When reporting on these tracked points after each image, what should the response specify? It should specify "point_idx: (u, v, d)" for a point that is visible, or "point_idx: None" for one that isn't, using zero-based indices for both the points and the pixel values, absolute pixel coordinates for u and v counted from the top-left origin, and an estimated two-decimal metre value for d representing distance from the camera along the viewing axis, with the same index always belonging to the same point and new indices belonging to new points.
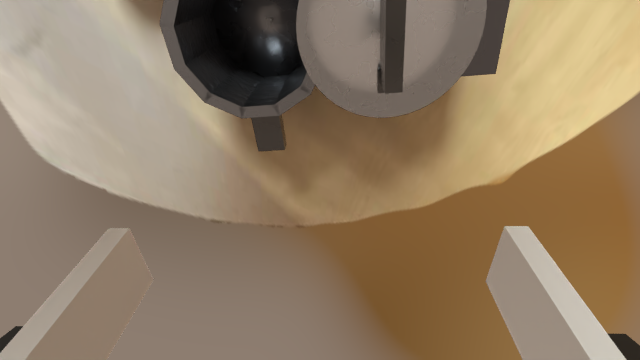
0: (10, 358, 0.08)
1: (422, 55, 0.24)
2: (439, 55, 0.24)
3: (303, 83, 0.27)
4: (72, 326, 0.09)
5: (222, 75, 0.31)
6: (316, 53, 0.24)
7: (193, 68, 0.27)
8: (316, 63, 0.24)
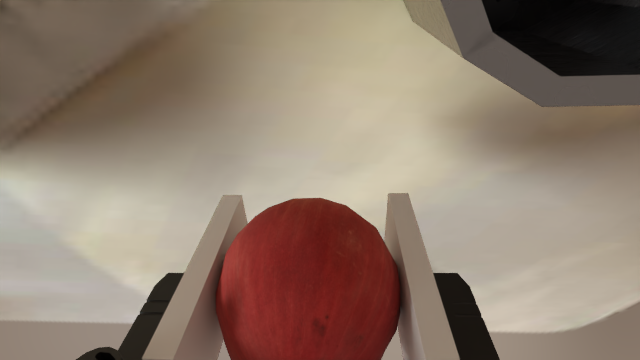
0: (188, 291, 0.09)
1: None
2: None
3: None
4: (219, 272, 0.11)
5: None
6: None
7: None
8: None
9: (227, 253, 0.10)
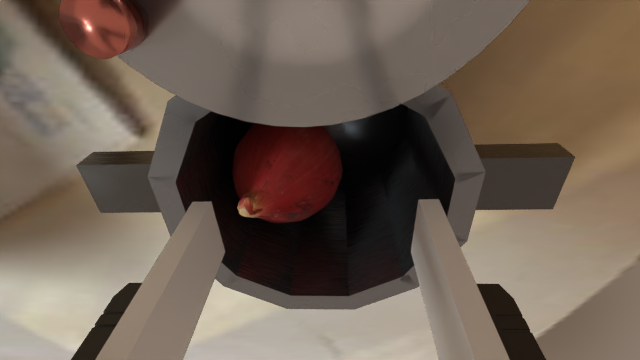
0: (142, 303, 0.09)
1: None
2: None
3: (419, 109, 0.11)
4: (180, 282, 0.10)
5: (385, 217, 0.18)
6: (342, 81, 0.09)
7: (358, 281, 0.16)
8: (369, 83, 0.09)
9: None
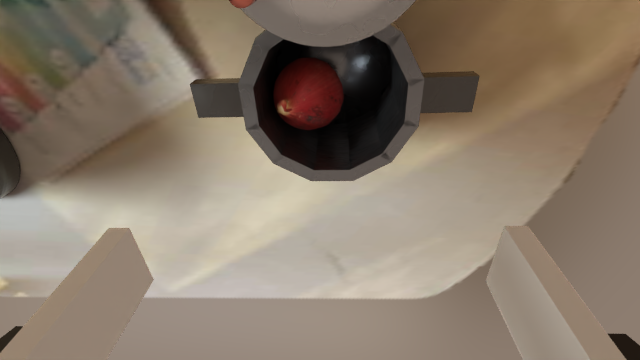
0: (10, 358, 0.08)
1: None
2: None
3: (386, 41, 0.20)
4: (72, 326, 0.09)
5: (374, 131, 0.28)
6: (346, 21, 0.19)
7: (355, 162, 0.26)
8: (359, 23, 0.19)
9: None
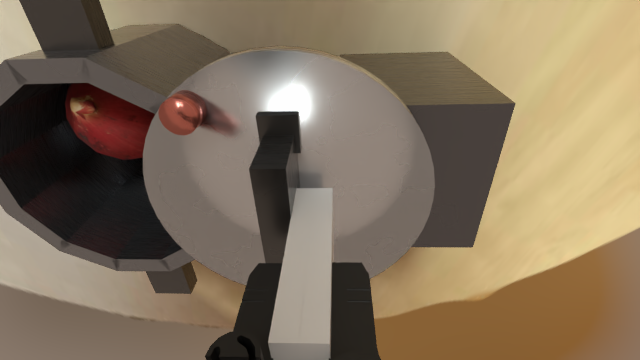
0: (292, 279, 0.09)
1: (342, 232, 0.16)
2: (367, 234, 0.16)
3: None
4: None
5: (106, 194, 0.22)
6: (183, 220, 0.16)
7: (39, 208, 0.18)
8: (185, 231, 0.16)
9: None
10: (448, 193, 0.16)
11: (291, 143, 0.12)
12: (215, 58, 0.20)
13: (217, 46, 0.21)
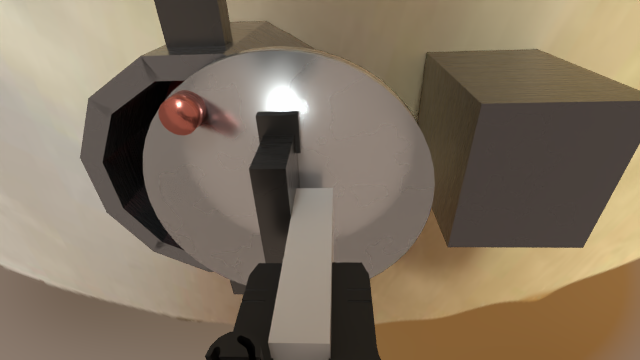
0: (292, 279, 0.09)
1: (342, 232, 0.16)
2: (367, 234, 0.16)
3: None
4: None
5: None
6: (183, 220, 0.16)
7: (137, 207, 0.18)
8: (185, 231, 0.16)
9: None
10: (571, 192, 0.16)
11: (291, 143, 0.12)
12: None
13: (304, 44, 0.21)
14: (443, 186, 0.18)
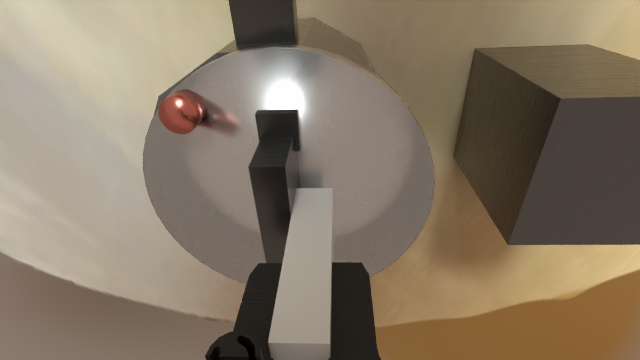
0: (292, 279, 0.09)
1: (342, 230, 0.16)
2: (368, 232, 0.16)
3: None
4: None
5: None
6: (184, 219, 0.16)
7: None
8: (186, 230, 0.16)
9: None
10: None
11: (290, 141, 0.12)
12: (362, 52, 0.19)
13: (352, 41, 0.21)
14: (501, 183, 0.18)
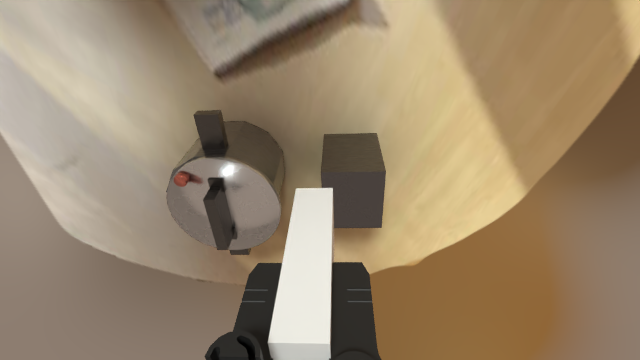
0: (292, 279, 0.09)
1: (247, 221, 0.39)
2: (258, 222, 0.39)
3: None
4: None
5: None
6: (182, 217, 0.39)
7: None
8: (183, 221, 0.39)
9: None
10: (366, 204, 0.38)
11: (219, 189, 0.35)
12: (264, 140, 0.42)
13: (263, 131, 0.44)
14: None
